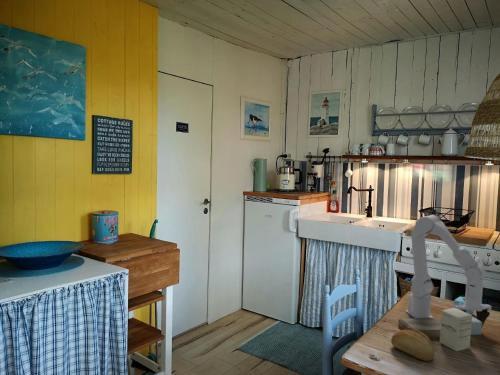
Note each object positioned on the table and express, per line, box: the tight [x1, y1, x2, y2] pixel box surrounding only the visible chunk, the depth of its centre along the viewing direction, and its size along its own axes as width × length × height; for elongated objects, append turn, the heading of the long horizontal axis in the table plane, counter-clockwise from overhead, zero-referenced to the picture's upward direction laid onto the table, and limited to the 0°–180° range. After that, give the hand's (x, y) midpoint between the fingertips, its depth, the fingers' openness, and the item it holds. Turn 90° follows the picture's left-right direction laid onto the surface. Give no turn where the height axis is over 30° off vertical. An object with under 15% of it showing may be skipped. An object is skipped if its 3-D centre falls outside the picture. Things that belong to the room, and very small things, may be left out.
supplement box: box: [439, 307, 473, 352], centre depth 144 cm, size 7×7×13 cm
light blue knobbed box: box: [453, 296, 475, 315], centre depth 173 cm, size 12×6×8 cm, turn 134°
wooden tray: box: [397, 317, 441, 339], centre depth 156 cm, size 12×15×3 cm
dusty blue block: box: [471, 316, 483, 336], centre depth 156 cm, size 5×5×5 cm
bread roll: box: [390, 328, 435, 362], centre depth 138 cm, size 10×15×8 cm, turn 41°
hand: (471, 328), depth 156 cm, fingers open, 6 cm apart
